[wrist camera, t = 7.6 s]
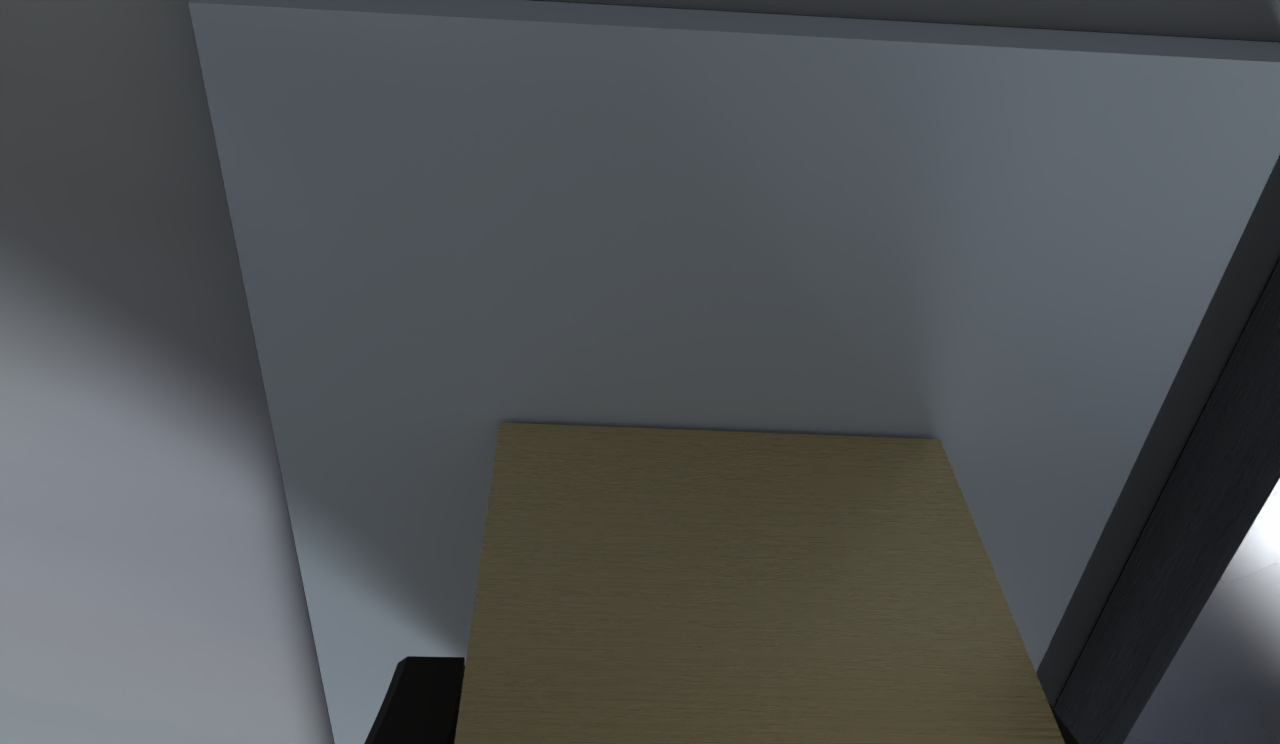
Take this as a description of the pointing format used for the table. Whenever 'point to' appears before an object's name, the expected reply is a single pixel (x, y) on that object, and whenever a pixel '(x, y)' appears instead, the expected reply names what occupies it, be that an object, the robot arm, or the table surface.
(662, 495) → the collar
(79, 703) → the table surface
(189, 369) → the table surface
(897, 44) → the mat
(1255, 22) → the table surface
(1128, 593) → the vise
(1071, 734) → the robot arm
